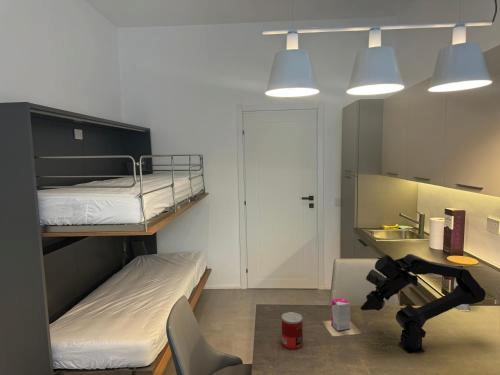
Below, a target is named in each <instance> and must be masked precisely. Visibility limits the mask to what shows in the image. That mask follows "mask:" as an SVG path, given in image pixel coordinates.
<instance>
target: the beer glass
mask: <svg viewBox="0 0 500 375" xmlns="http://www.w3.org/2000/svg"><path fill="white" fill-rule="evenodd" d="M453 279H454V281H453V290H454V289H455V287H456V286H457V285H458V284H457V283H456V279H455V278H453ZM455 308H456V309H458V310H457V311H459V310H465V311H466V310H471V309H470V304H462V305H459V306H457V307H455ZM455 308H454V309H455ZM456 309H455V310H456Z"/></svg>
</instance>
